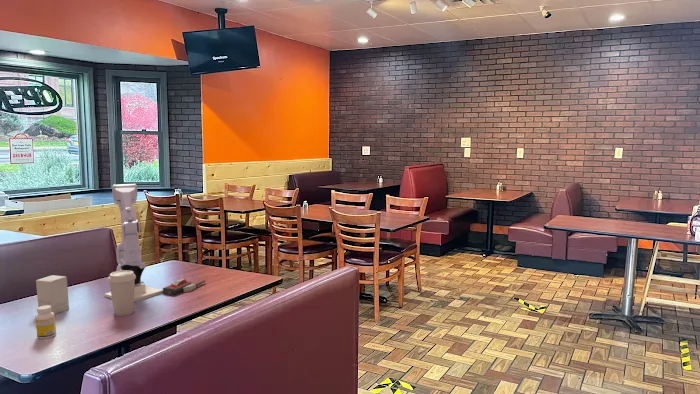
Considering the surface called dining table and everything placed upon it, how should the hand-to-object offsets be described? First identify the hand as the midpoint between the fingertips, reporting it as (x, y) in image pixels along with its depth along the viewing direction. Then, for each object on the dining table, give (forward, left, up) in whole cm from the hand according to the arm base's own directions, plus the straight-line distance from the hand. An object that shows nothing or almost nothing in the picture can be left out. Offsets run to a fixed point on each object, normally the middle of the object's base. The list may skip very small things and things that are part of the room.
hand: (133, 282), depth 210 cm
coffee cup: (+16, -15, -5) cm, 23 cm away
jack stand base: (0, 0, -5) cm, 5 cm away
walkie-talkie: (+11, +17, -6) cm, 21 cm away
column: (0, 0, -4) cm, 4 cm away
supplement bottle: (+15, -42, -5) cm, 45 cm away
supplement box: (-8, -28, -5) cm, 30 cm away
